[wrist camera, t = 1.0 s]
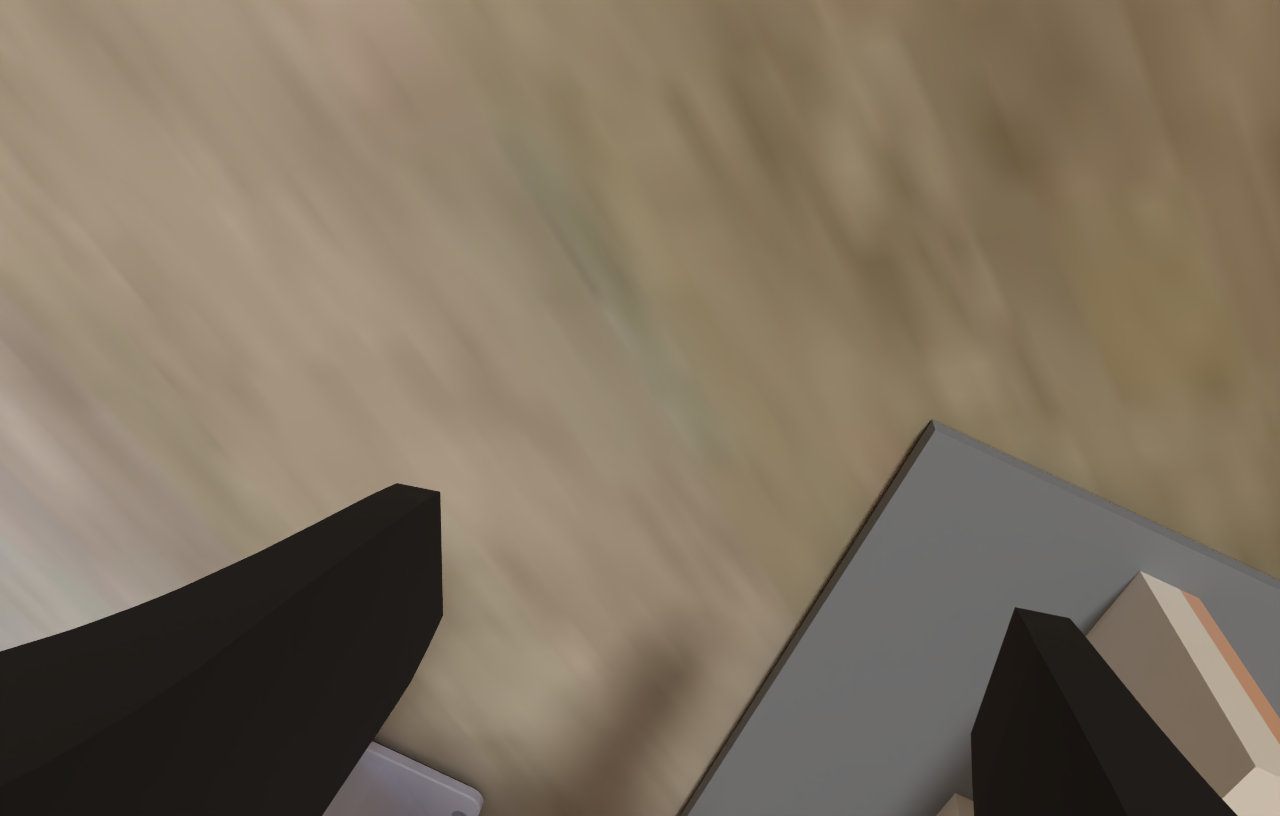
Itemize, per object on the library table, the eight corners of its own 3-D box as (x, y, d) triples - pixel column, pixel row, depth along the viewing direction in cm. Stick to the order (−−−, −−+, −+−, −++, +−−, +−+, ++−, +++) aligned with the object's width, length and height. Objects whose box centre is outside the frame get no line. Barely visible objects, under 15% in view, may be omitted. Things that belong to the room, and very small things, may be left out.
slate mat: (1105, 1050, 27) (1111, 1071, 27) (662, 843, 27) (659, 860, 27) (1523, 693, 21) (1542, 711, 20) (932, 419, 21) (935, 430, 20)
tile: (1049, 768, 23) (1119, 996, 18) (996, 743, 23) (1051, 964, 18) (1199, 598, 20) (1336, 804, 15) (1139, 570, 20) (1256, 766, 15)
